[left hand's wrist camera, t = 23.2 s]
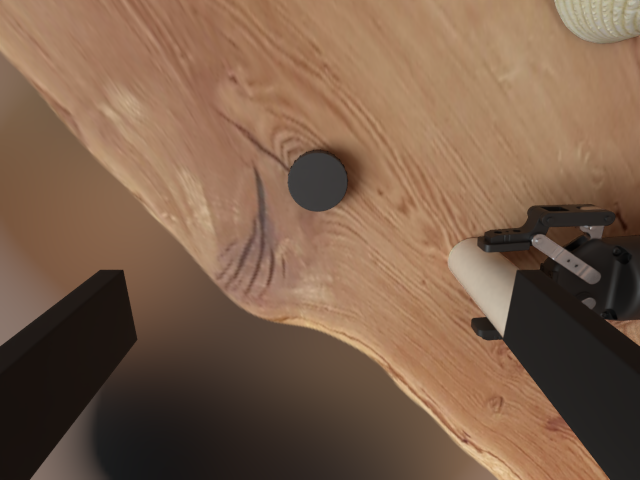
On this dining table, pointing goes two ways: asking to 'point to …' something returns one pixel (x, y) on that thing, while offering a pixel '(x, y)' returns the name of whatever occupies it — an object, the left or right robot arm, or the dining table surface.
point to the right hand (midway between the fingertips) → (477, 288)
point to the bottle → (484, 279)
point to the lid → (317, 180)
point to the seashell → (601, 19)
